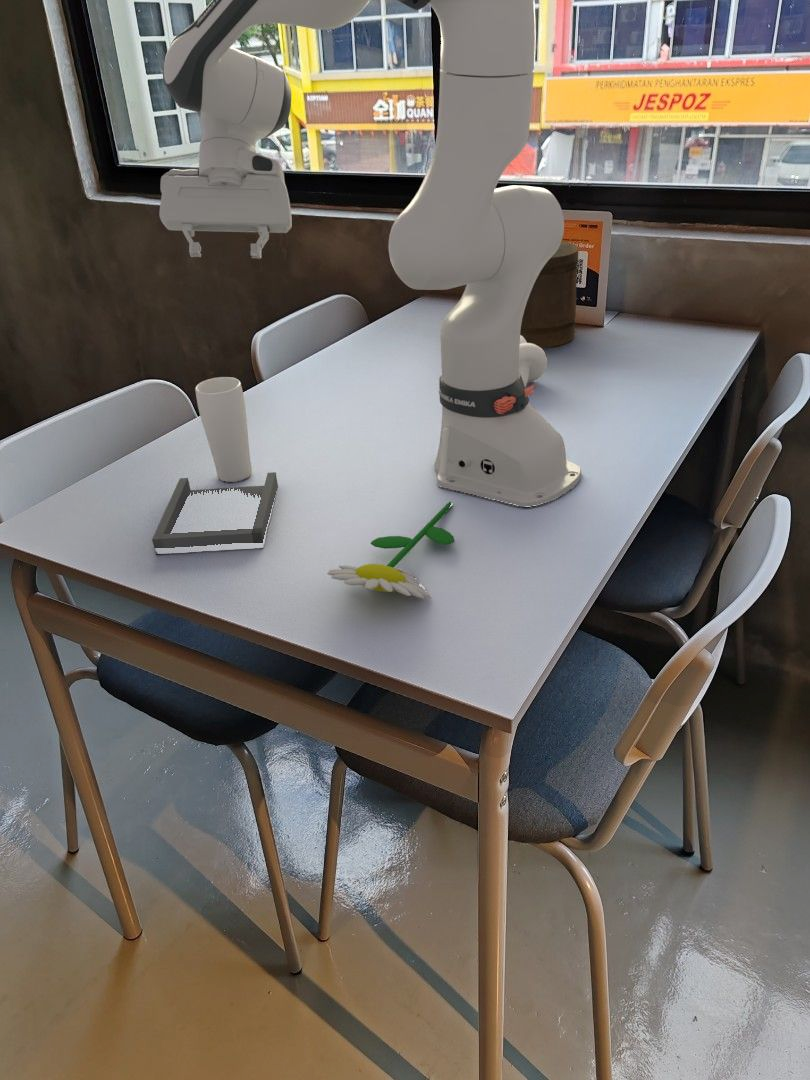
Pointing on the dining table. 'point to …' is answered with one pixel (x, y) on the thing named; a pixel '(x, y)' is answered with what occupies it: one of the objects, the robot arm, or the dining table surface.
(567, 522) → the dining table surface
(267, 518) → the tray
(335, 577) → the decorative flower
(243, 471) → the drinking glass
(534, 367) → the white rounded piece
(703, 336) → the dining table surface
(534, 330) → the wooden container
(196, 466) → the dining table surface
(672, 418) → the dining table surface
